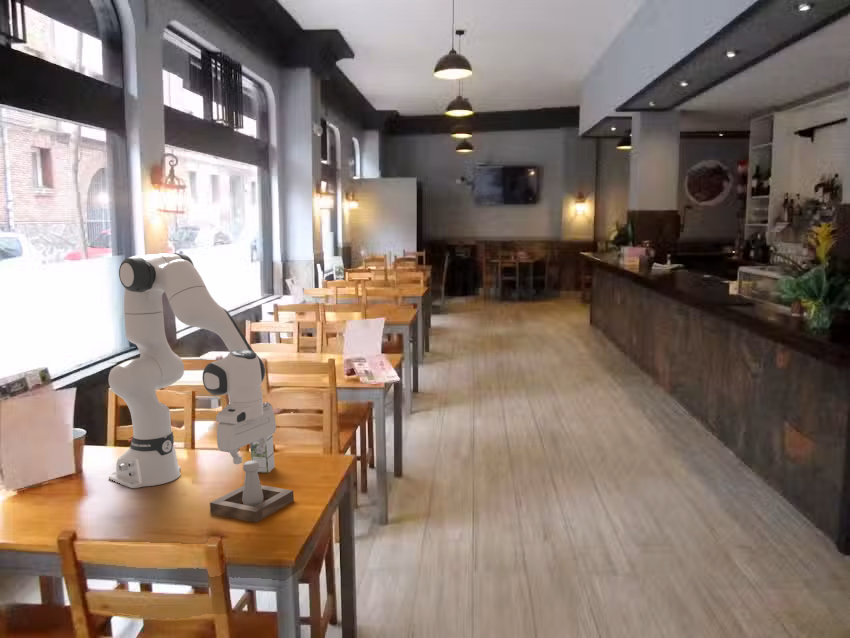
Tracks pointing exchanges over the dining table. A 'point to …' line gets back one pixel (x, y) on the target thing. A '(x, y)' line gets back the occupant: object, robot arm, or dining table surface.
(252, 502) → the salt shaker
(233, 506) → the walnut socket
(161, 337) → the robot arm
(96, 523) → the dining table surface
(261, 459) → the syrup box
